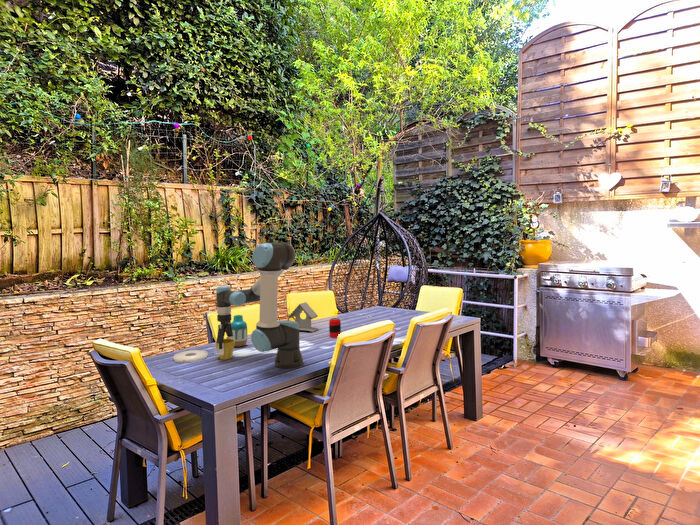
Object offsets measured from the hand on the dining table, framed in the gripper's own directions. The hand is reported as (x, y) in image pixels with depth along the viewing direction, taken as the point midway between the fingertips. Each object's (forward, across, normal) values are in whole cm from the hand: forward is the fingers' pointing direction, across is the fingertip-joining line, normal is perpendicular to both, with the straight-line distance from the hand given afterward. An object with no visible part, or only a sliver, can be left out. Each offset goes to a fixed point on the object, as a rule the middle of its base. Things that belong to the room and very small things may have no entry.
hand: (225, 351), depth 242 cm
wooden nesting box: (+4, -66, +34) cm, 74 cm away
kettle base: (+4, 0, -20) cm, 20 cm away
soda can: (+4, -48, +58) cm, 75 cm away
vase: (+4, -25, 0) cm, 25 cm away
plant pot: (+4, 0, 0) cm, 4 cm away
